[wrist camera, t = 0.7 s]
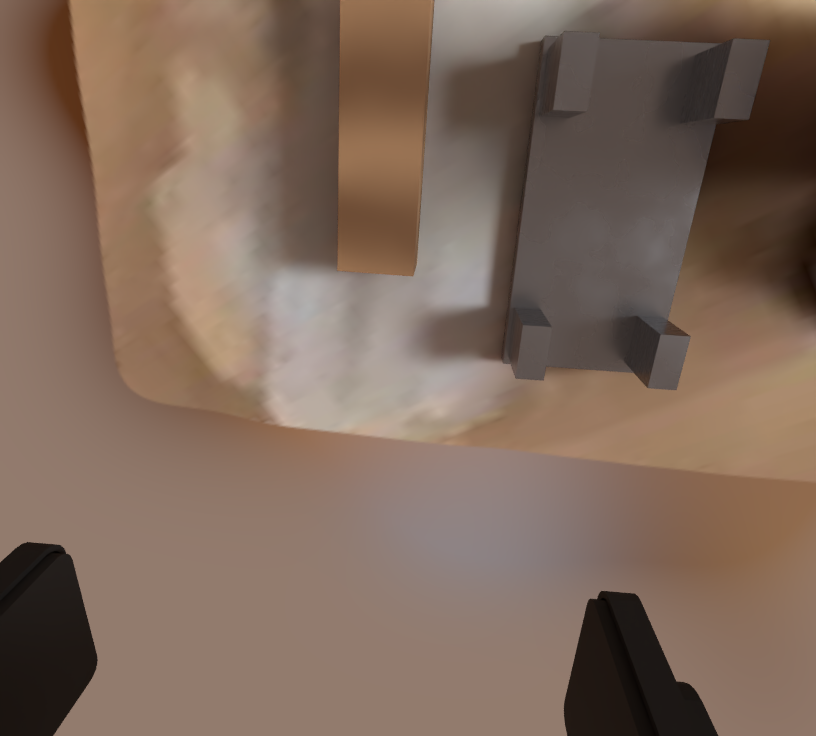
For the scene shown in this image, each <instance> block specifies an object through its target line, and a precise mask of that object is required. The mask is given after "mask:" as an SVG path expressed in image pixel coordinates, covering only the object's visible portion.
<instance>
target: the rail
mask: <svg viewBox="0 0 816 736" xmlns="http://www.w3.org/2000/svg"><path fill="white" fill-rule="evenodd" d="M433 14H434V0H340V63H339V165H338V267H337V271H349V272H362V273H375V274H389V275H402V276H413V275H414V272H415V268H416V265H417V254H418V239H419V224H420V209H421V194H422V179H423V164H424V149H425V134H426V119H427V104H428V89H429V74H430V59H431V44H432V29H433Z"/></svg>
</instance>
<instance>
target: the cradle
mask: <svg viewBox="0 0 816 736" xmlns="http://www.w3.org/2000/svg"><path fill="white" fill-rule="evenodd" d="M599 36H600V33H596V32H573V31H564V32H563V33H562V34H561V35H560V36H545V37H544V38H543V39H542V41H541V49H540V57H539V65H538V73H537V80H536V88H535V96H534V104H533V112H532V120H531V128H530V136H529V144H528V151H527V159H526V167H525V175H524V183H523V191H522V199H521V207H520V215H519V222H518V230H517V238H516V246H515V254H514V262H513V270H512V278H511V286H510V293H509V301H508V309H507V317H506V325H505V333H504V341H503V349H502V357H501V358H502V361H503V363H505V364H511V366H512V369H513V372H514V375H515V378H516V379H530V380H544V375H545V369H546V366H547V367H561V368H575V369H589V370H603V371H617V372H631V373H635V375H636V376H637V377H638V378H639V379H640V380H641V381H642V382H643V383H644V385H645V386H646V387H647V388H654V389H667V390H676V389H677V386H678V382H679V378H680V375H681V371H682V367H683V363H684V360H685V356H686V352H687V348H688V345H689V341H690V337H691V336H689V335H688V334H686V333H685V332H684V331H682V330H681V329H679V328H678V327H676V326H675V325H674V324H672V323H671V322H669V321H668V317H669V313H670V309H671V305H672V301H673V297H674V293H675V288H676V284H677V280H678V276H679V272H680V268H681V264H682V260H683V256H684V252H685V248H686V244H687V240H688V236H689V232H690V228H691V224H692V220H693V216H694V212H695V208H696V204H697V200H698V196H699V192H700V188H701V184H702V180H703V175H704V171H705V167H706V163H707V159H708V155H709V151H710V147H711V143H712V139H713V135H714V131H715V127H716V124H722V123H730V122H737V121H744V120H749V117H750V114H751V110H752V106H753V103H754V99H755V95H756V91H757V88H758V84H759V80H760V76H761V73H762V69H763V65H764V62H765V58H766V54H767V50H768V47H769V43H770V40H756V39H731V40H729V41H726V42H724V43H722V44H718V43H696V42H673V41H650V40H628V39H605V38H599Z"/></svg>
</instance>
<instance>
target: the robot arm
mask: <svg viewBox="0 0 816 736" xmlns="http://www.w3.org/2000/svg"><path fill="white" fill-rule="evenodd" d="M96 666H97V654H96V650H95V646H94V642H93V638H92V634H91V630H90V626H89V623H88V619H87V615H86V611H85V607H84V603H83V599H82V595H81V591H80V587H79V584H78V580H77V576H76V572H75V568H74V564H73V560H72V558H71V556H70V555H69V554H66V552H65V550H64V548H63V547H61V545H54V544H43V543H31V542H27V543H24V544H21V545H20V546H19V547H17V548H16V549H15V550H14V551H12V552H11V553H10V554H9V555H8V556H7V557H6V558H5V559H4V560H3V561H1V562H0V736H53V735H54V734H55V732H56V731H57V729H58V728H59V726H60V725H61V723H62V721H63V720H64V719H65V717H66V716H67V714H68V713H69V711H70V710H71V708H72V707H73V706H74V704H75V703H76V701H77V699H78V698H79V697H80V695H81V694H82V692H83V691H84V689H85V688H86V686H87V685H88V684H89V682H90V680H91V679H92V677H93V675H94V672H95V670H96ZM564 718H565V726H566V731H567V736H718V734H717V732H716V730H715V728H714V726H713V724H712V722H711V719H710V717H709V715H708V713H707V711H706V709H705V707H704V705H703V702H702V701H701V699H700V697H699V695H698V694H697V692H696V691H695V689H694V688H693V687H692V686H691V685H690V684H687V683H684V682H676V680H675V678H674V675H673V673H672V671H671V669H670V666H669V664H668V662H667V660H666V657H665V655H664V653H663V651H662V648H661V646H660V644H659V641H658V639H657V637H656V635H655V632H654V630H653V628H652V626H651V623H650V621H649V619H648V616H647V614H646V612H645V610H644V607H643V605H642V603H641V601H640V599H639V597H638V596H637V595H636V594H631V593H620V592H608V591H601V592H600V593H599V595H598V598H597V599H589V601H588V603H587V607H586V611H585V616H584V620H583V624H582V628H581V633H580V637H579V641H578V646H577V650H576V654H575V659H574V663H573V667H572V671H571V676H570V680H569V685H568V689H567V693H566V697H565V703H564Z"/></svg>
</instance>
